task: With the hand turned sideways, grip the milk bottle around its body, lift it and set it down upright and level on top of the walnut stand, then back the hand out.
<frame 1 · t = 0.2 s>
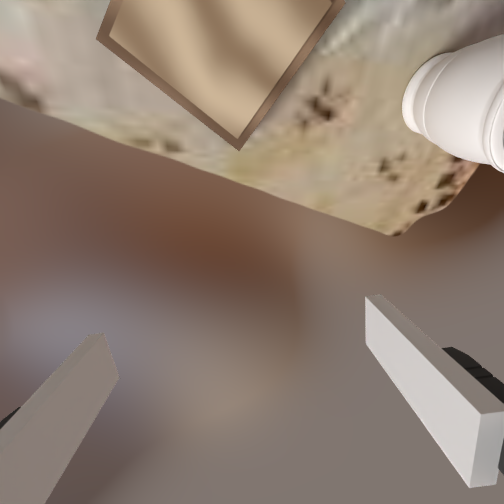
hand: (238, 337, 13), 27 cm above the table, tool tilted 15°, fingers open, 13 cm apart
jar: (433, 95, 33), on the table
walnut stand: (221, 28, 27), on the table
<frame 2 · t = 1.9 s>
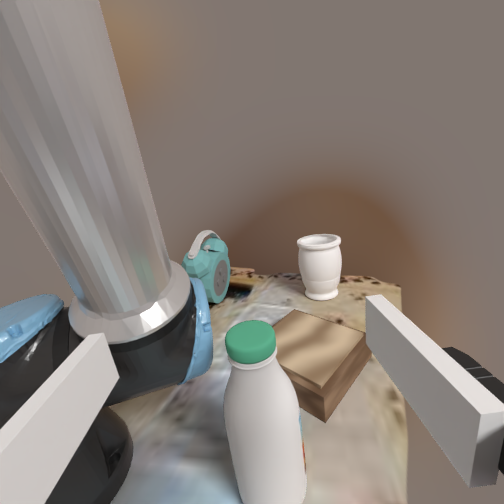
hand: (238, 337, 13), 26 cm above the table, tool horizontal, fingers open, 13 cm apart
milk bottle: (273, 483, 30), on the table
jar: (321, 294, 70), on the table
walnut stand: (307, 363, 47), on the table
alarm clock: (212, 300, 75), on the table
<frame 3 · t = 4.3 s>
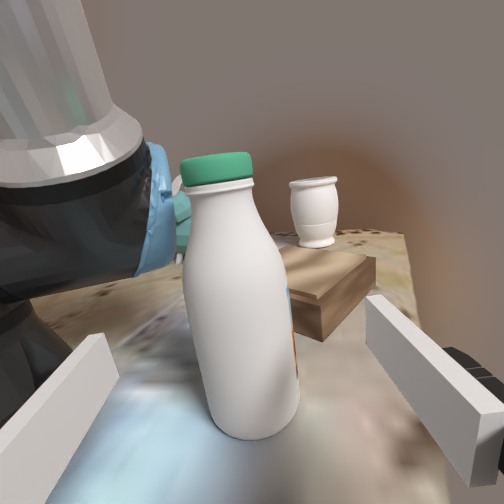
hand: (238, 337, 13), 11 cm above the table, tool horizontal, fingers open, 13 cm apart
milk bottle: (255, 402, 23), on the table
jar: (316, 244, 63), on the table
walnut stand: (300, 295, 40), on the table
alarm clock: (196, 256, 67), on the table
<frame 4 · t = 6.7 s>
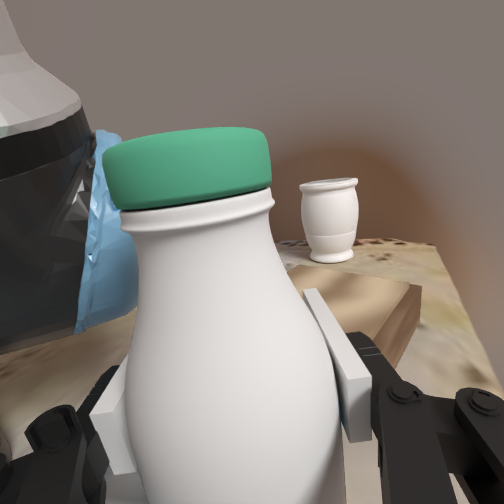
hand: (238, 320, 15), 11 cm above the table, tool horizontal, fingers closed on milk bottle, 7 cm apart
jar: (331, 257, 54), on the table
walnut stand: (321, 334, 30), on the table
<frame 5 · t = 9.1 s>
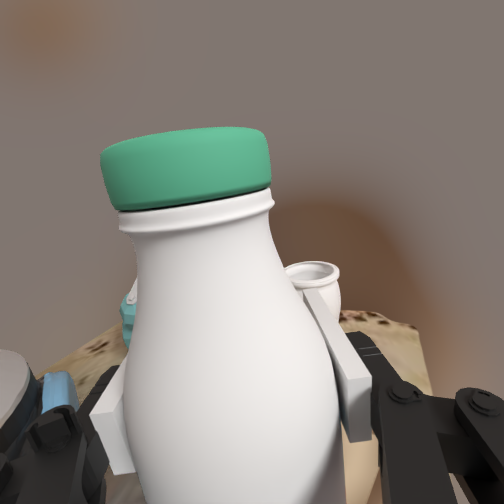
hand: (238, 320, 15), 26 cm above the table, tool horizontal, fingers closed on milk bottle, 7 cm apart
jar: (314, 341, 53), on the table
walnut stand: (298, 490, 29), on the table
alarm clock: (171, 351, 56), on the table
when the fingers open (17 cm above the table, at t = 11.8 s): milk bottle drops 1 cm, resting on walnut stand.
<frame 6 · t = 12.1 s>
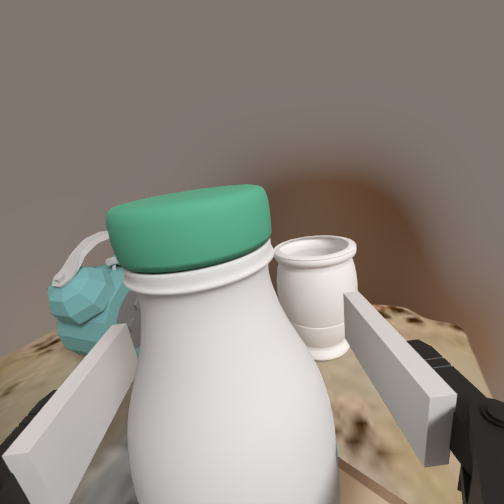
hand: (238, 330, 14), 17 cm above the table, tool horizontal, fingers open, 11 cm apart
jar: (320, 343, 39), on the table
alarm clock: (132, 352, 43), on the table
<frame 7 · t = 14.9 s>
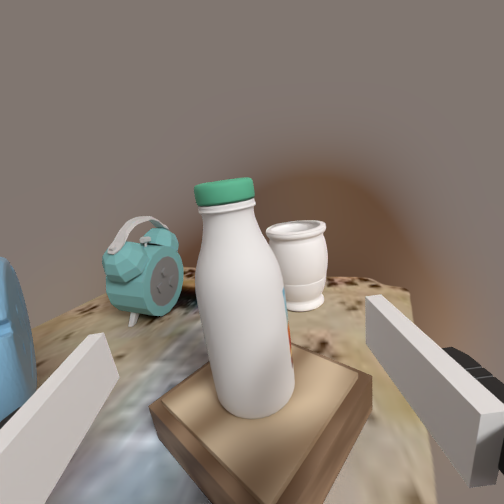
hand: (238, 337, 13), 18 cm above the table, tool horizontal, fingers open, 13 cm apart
milk bottle: (256, 389, 26), point 5 cm above the table, touching walnut stand
jar: (301, 302, 51), on the table
walnut stand: (265, 424, 28), on the table
alarm clock: (157, 312, 56), on the table
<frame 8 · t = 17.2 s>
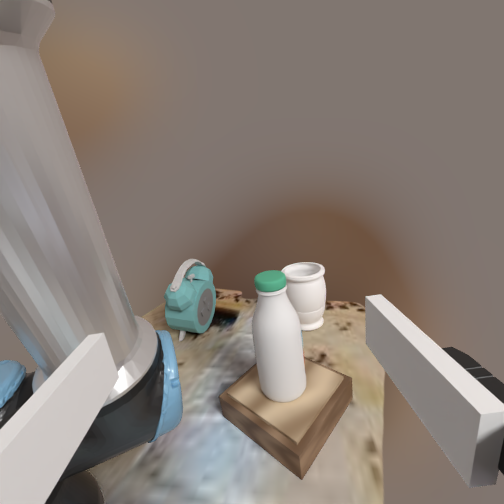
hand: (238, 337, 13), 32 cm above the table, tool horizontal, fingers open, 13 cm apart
milk bottle: (283, 385, 44), point 5 cm above the table, touching walnut stand
jar: (307, 322, 70), on the table
walnut stand: (287, 407, 46), on the table
alarm clock: (197, 329, 74), on the table
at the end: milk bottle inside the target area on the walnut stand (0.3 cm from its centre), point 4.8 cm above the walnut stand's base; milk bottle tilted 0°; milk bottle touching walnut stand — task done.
